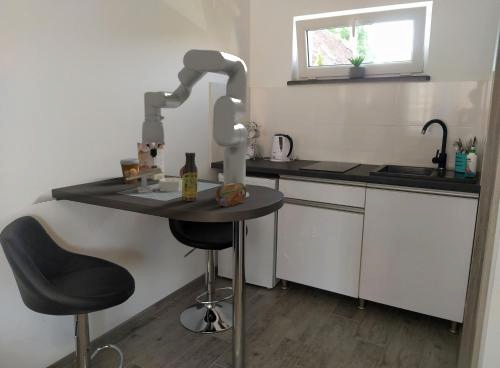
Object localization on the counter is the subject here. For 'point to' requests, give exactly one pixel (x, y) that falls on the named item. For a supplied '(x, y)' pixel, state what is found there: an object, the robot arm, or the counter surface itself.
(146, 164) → the coffeecake box
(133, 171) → the orange ball
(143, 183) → the lever stand
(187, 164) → the sauce bottle
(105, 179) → the counter surface
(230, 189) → the sandwich
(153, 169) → the birch lever
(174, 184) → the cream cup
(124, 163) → the brown food tub
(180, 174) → the onion
